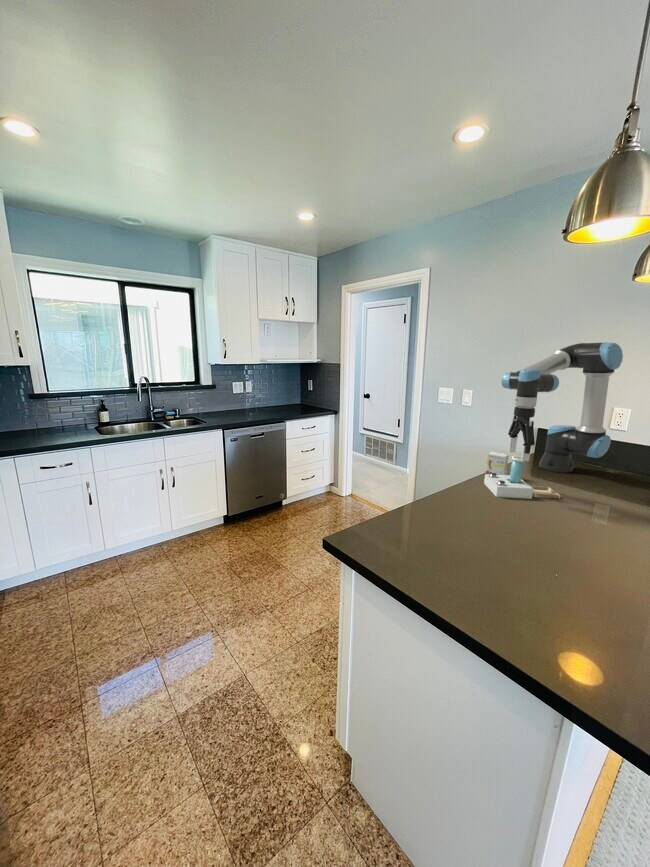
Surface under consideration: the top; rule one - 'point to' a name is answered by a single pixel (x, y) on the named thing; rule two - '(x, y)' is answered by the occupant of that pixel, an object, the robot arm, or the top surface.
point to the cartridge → (516, 470)
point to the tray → (544, 492)
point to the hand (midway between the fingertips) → (518, 456)
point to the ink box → (497, 463)
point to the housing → (508, 487)
